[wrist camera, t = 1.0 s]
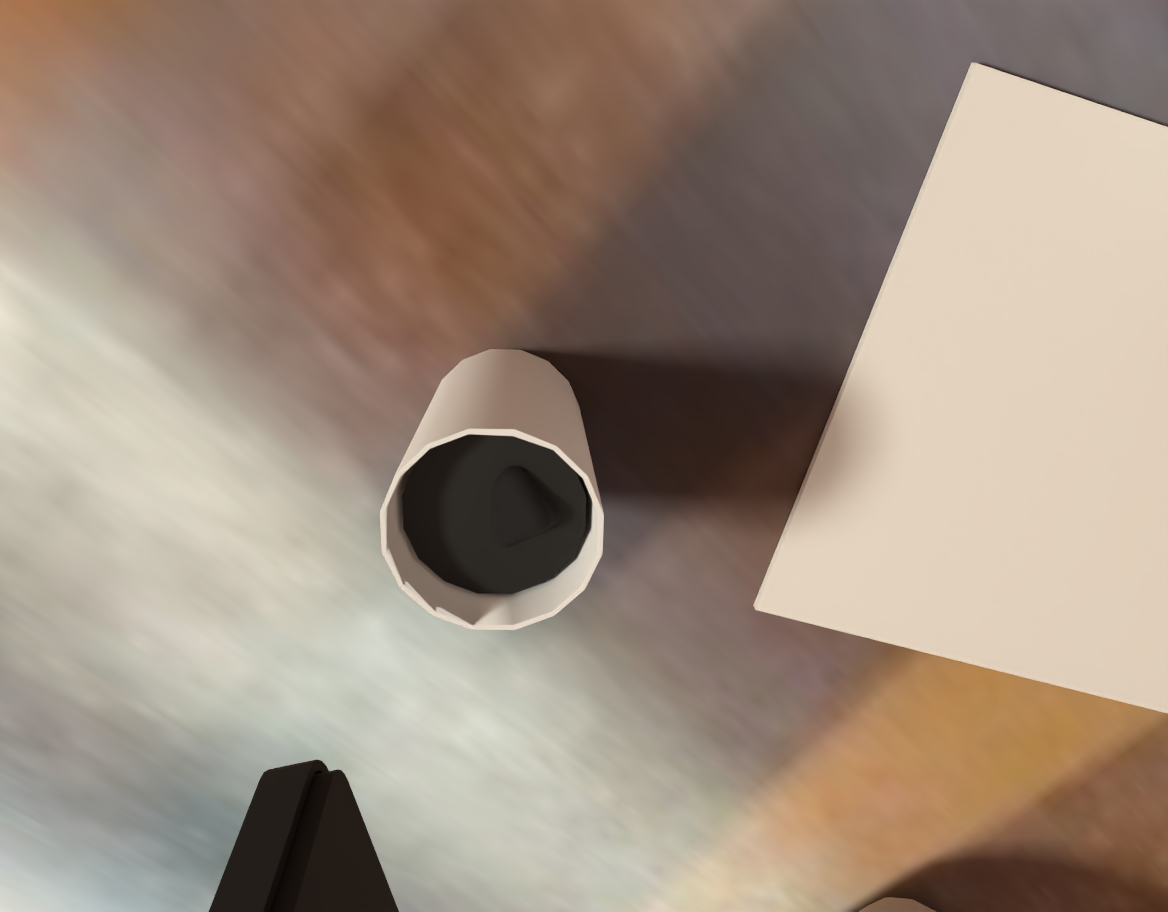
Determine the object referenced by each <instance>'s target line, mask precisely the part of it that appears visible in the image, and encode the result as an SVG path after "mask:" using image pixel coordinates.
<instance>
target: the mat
mask: <svg viewBox="0 0 1168 912" xmlns="http://www.w3.org/2000/svg"><path fill="white" fill-rule="evenodd" d="M754 607H755V610H758V611H762V612H766V613H770V614H774V615H778V616H782V617H786V618H790V619H794V620H798V621H802V622H806V623H810V624H814V625H818V626H822V627H826V628H830V629H834V630H838V631H842V632H846V633H850V634H854V635H858V636H862V637H866V638H870V639H874V640H878V641H882V642H886V643H890V644H894V645H898V646H902V647H906V648H910V649H914V650H918V651H922V652H925V653H929V654H933V655H937V656H941V657H945V658H949V659H953V660H957V661H961V662H965V663H969V664H973V665H977V666H981V667H985V668H989V669H993V670H997V671H1001V672H1005V673H1009V674H1013V675H1017V676H1021V677H1025V678H1029V679H1033V680H1037V681H1041V682H1045V683H1049V684H1053V685H1057V686H1061V687H1065V688H1069V689H1073V690H1077V691H1081V692H1085V693H1089V694H1093V695H1097V696H1101V697H1105V698H1109V699H1113V700H1117V701H1121V702H1125V703H1129V704H1132V705H1136V706H1140V707H1144V708H1148V709H1152V710H1156V711H1160V712H1164V713H1168V127H1166V126H1163V125H1160V124H1157V123H1154V122H1151V121H1148V120H1145V119H1142V118H1139V117H1136V116H1133V115H1130V114H1127V113H1124V112H1121V111H1118V110H1115V109H1112V108H1109V107H1106V106H1103V105H1100V104H1097V103H1094V102H1091V101H1088V100H1085V99H1082V98H1079V97H1076V96H1073V95H1070V94H1067V93H1064V92H1061V91H1058V90H1055V89H1052V88H1049V87H1046V86H1043V85H1041V84H1038V83H1035V82H1032V81H1029V80H1026V79H1023V78H1020V77H1017V76H1014V75H1011V74H1008V73H1005V72H1002V71H999V70H996V69H993V68H990V67H987V66H984V65H981V64H978V63H971V65H970V67H969V70H968V72H967V75H966V77H965V80H964V82H963V85H962V87H961V90H960V92H959V95H958V97H957V100H956V102H955V105H954V107H953V110H952V112H951V115H950V117H949V120H948V122H947V125H946V127H945V130H944V132H943V135H942V137H941V140H940V142H939V145H938V147H937V150H936V152H935V155H934V157H933V160H932V162H931V165H930V167H929V170H928V172H927V174H926V177H925V179H924V182H923V184H922V187H921V189H920V192H919V194H918V197H917V199H916V202H915V204H914V207H913V209H912V212H911V214H910V217H909V219H908V222H907V224H906V227H905V229H904V232H903V234H902V237H901V239H900V242H899V244H898V247H897V249H896V252H895V254H894V257H893V259H892V262H891V264H890V267H889V269H888V272H887V274H886V277H885V279H884V282H883V284H882V287H881V289H880V291H879V294H878V296H877V299H876V301H875V304H874V306H873V309H872V311H871V314H870V316H869V319H868V321H867V324H866V326H865V329H864V331H863V334H862V336H861V339H860V341H859V344H858V346H857V349H856V351H855V354H854V356H853V359H852V361H851V364H850V366H849V369H848V371H847V374H846V376H845V379H844V381H843V384H842V386H841V389H840V391H839V394H838V396H837V399H836V401H835V404H834V406H833V409H832V411H831V413H830V416H829V418H828V421H827V423H826V426H825V428H824V431H823V433H822V436H821V438H820V441H819V443H818V446H817V448H816V451H815V453H814V456H813V458H812V461H811V463H810V466H809V468H808V471H807V473H806V476H805V478H804V481H803V483H802V486H801V488H800V491H799V493H798V496H797V498H796V501H795V503H794V506H793V508H792V511H791V513H790V516H789V518H788V521H787V523H786V526H785V528H784V531H783V533H782V535H781V538H780V540H779V543H778V545H777V548H776V550H775V553H774V555H773V558H772V560H771V563H770V565H769V568H768V570H767V573H766V575H765V578H764V580H763V583H762V585H761V588H760V590H759V593H758V595H757V598H756V600H755V603H754Z"/></svg>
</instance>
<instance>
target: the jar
mask: <svg viewBox="0 0 1168 912" xmlns="http://www.w3.org/2000/svg"><path fill="white" fill-rule="evenodd" d="M858 912H936V911H935V910H933V909H931V908H929V907H927V906H925V905H923V904H921V903H919V902H917V901H915V900H913V899H905V898H893V897H885V898H883V899H881V900H879V901H876V902H874V903H872V904H870V905H868V906H866V907H865V908H863V909H861V910H860V911H858Z"/></svg>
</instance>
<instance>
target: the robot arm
mask: <svg viewBox="0 0 1168 912" xmlns="http://www.w3.org/2000/svg"><path fill="white" fill-rule="evenodd" d="M209 912H399V911H398V908H397V906H396V903H395V901H394V898H393V895H392V893H391V890H390V888H389V885H388V883H387V880H386V877H385V875H384V872H383V870H382V867H381V865H380V862H379V859H378V857H377V854H376V852H375V849H374V847H373V844H372V841H371V839H370V836H369V834H368V831H367V828H366V826H365V823H364V821H363V818H362V816H361V813H360V810H359V808H358V805H357V803H356V800H355V798H354V795H353V792H352V790H351V787H350V785H349V782H348V780H347V778H346V776H345V774H344V773H343V772H342V771H341V770H334V771H328V769H327V767H326V765H325V764H324V763H323V762H322V761H320V760H313V761H308V762H303V763H298V764H294V765H289V766H284V767H279V768H274V769H269V770H267V771H266V772H264V773H263V775H262V777H261V778H260V781H259V783H258V786H257V788H256V791H255V793H254V796H253V799H252V801H251V804H250V806H249V809H248V812H247V814H246V817H245V819H244V822H243V825H242V827H241V830H240V832H239V835H238V837H237V840H236V843H235V845H234V848H233V850H232V853H231V856H230V858H229V861H228V863H227V866H226V868H225V871H224V874H223V876H222V879H221V881H220V884H219V887H218V889H217V892H216V894H215V897H214V900H213V902H212V905H211V907H210V910H209Z"/></svg>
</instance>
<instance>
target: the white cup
mask: <svg viewBox="0 0 1168 912" xmlns="http://www.w3.org/2000/svg"><path fill="white" fill-rule="evenodd" d="M603 522H604V513H603V509H602V504H601V500H600V495H599V491H598V487H597V482H596V478H595V474H594V469H593V465H592V460H591V456H590V452H589V447H588V443H587V439H586V434H585V430H584V425H583V421H582V417H581V412H580V407H579V405H578V403H577V400H576V398H575V395H574V393H573V390H572V388H571V385H570V383H569V381H568V380H567V379H566V378H565V377H564V376H563V375H562V374H561V373H560V372H559V371H558V370H557V369H556V368H555V367H554V366H553V365H552V364H551V363H550V362H549V361H547V360H544V359H542V358H539V357H537V356H535V355H532V354H530V353H527V352H525V351H523V350H514V349H489V350H487V351H484V352H482V353H479V354H476V355H474V356H471V357H469V358H466V359H463V360H462V361H461V362H460V363H459V364H458V365H457V366H456V367H455V368H454V369H453V370H452V371H450V372H449V373H448V374H447V375H446V376H445V377H444V378H443V379H442V381H441V383H440V385H439V387H438V389H437V391H436V393H435V395H434V397H433V399H432V401H431V403H430V405H429V407H428V409H427V411H426V413H425V415H424V417H423V419H422V421H421V423H420V425H419V427H418V429H417V431H416V433H415V435H414V437H413V439H412V442H411V444H410V446H409V448H408V450H407V452H406V454H405V456H404V458H403V460H402V462H401V464H400V466H399V468H398V470H397V472H396V474H395V476H394V479H393V481H392V484H391V486H390V488H389V491H388V493H387V496H386V498H385V501H384V503H383V506H382V508H381V511H380V524H381V544H382V553H383V555H384V557H385V559H386V561H387V563H388V565H389V567H390V569H391V571H392V573H393V575H394V577H395V579H396V580H397V582H398V584H399V586H400V588H401V589H402V590H403V591H404V592H406V593H407V594H408V595H409V596H410V597H411V598H413V599H414V600H415V601H416V602H417V603H418V604H420V605H421V606H422V607H423V608H424V609H425V610H427V611H428V612H429V613H430V614H431V615H433V616H436V617H439V618H441V619H444V620H447V621H450V622H452V623H455V624H458V625H461V626H463V627H466V628H469V629H472V630H515V629H518V628H521V627H524V626H527V625H529V624H532V623H535V622H538V621H541V620H544V619H546V618H549V617H552V616H554V615H555V614H557V613H558V612H559V611H560V610H561V609H562V608H564V607H565V606H566V605H567V604H568V603H569V602H571V601H572V600H573V599H574V598H575V597H576V596H578V595H579V594H580V593H581V592H582V591H583V590H585V588H586V586H587V584H588V582H589V580H590V578H591V576H592V574H593V572H594V570H595V568H596V566H597V564H598V562H599V560H600V558H601V556H602V550H603Z"/></svg>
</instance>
